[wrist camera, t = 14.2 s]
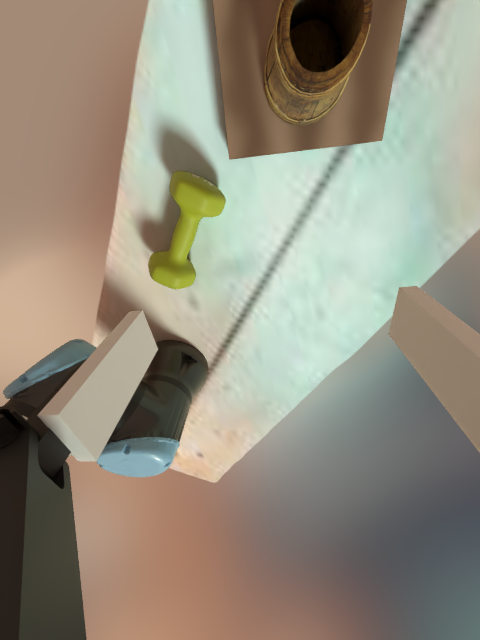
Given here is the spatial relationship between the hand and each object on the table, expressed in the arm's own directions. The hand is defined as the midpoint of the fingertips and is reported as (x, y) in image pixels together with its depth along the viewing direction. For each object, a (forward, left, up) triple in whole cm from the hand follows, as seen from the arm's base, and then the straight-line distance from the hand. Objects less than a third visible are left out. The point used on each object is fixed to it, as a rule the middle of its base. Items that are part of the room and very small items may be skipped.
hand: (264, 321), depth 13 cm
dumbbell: (-13, -1, -30) cm, 32 cm away
